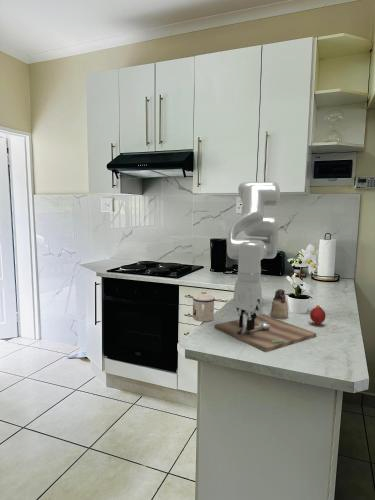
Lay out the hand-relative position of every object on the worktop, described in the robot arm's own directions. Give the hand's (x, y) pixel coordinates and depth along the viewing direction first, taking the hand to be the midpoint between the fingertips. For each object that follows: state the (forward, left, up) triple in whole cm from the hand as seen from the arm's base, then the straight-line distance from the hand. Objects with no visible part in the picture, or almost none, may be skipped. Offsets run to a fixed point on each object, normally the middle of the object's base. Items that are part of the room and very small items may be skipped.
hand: (246, 327), depth 120 cm
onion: (+5, +34, -3) cm, 35 cm away
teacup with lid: (-23, -2, -3) cm, 23 cm away
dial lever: (0, +3, -2) cm, 4 cm away
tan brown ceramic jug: (-10, +29, -3) cm, 31 cm away
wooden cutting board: (0, +9, -3) cm, 10 cm away
